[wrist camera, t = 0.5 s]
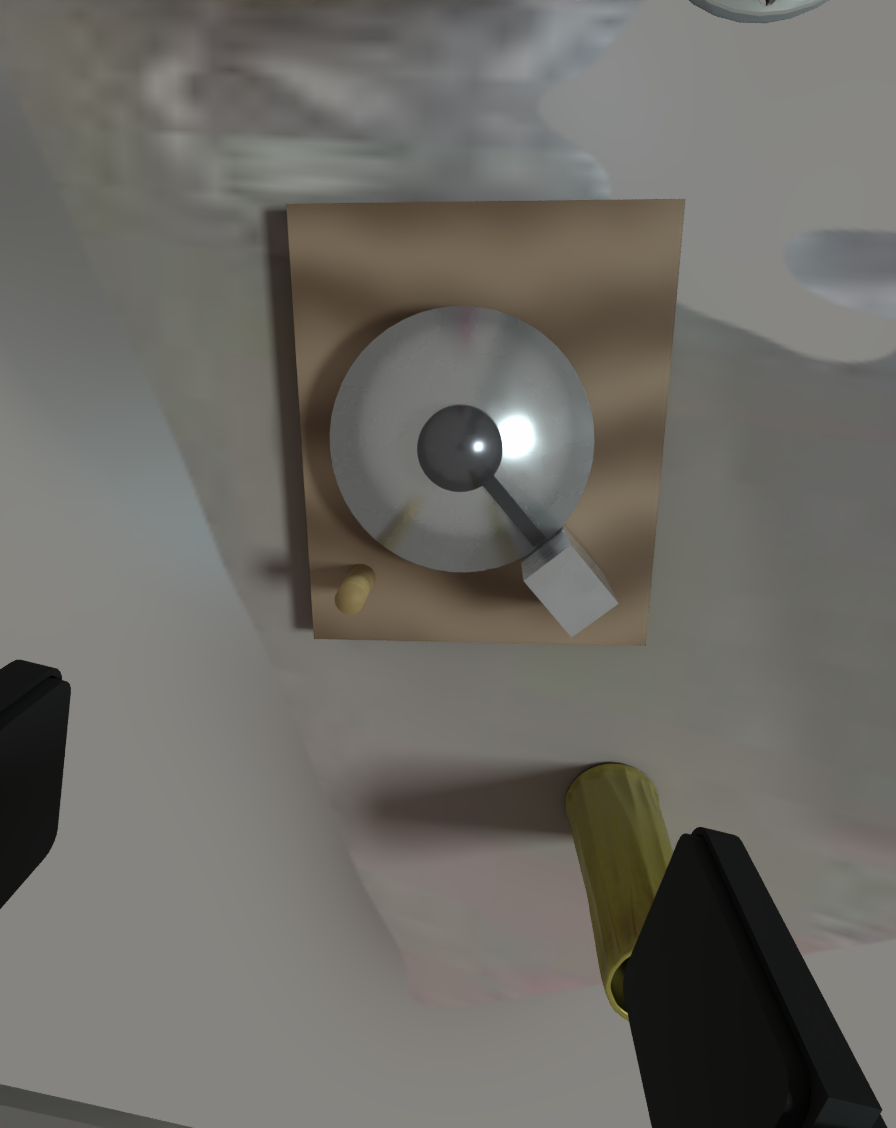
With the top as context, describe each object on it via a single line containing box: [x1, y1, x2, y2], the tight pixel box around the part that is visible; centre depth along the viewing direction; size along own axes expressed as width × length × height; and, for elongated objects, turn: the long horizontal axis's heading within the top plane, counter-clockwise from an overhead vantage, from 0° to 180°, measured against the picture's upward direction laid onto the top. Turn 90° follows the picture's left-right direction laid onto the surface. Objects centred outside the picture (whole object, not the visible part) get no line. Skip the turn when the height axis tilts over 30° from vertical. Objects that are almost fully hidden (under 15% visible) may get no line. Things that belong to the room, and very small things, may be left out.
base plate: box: [286, 199, 685, 646], centre depth 38 cm, size 24×20×6 cm
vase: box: [565, 764, 673, 1021], centre depth 40 cm, size 6×6×14 cm
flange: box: [330, 306, 619, 638], centre depth 37 cm, size 18×14×5 cm
